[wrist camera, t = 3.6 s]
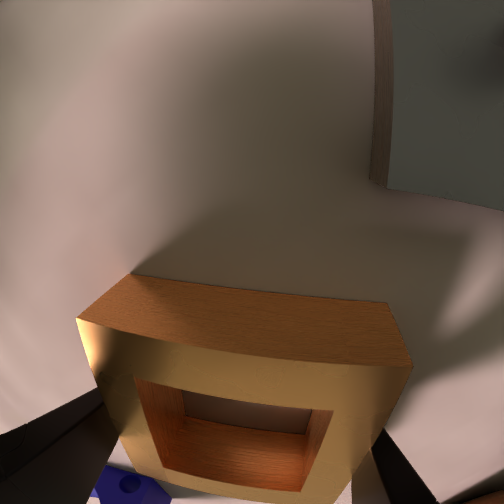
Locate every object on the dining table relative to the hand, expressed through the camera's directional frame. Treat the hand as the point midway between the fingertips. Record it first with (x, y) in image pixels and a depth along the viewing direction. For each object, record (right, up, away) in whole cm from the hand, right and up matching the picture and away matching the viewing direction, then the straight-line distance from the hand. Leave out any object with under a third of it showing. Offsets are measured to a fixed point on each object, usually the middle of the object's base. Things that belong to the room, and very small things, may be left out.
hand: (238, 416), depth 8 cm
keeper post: (+8, +10, -4) cm, 13 cm away
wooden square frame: (0, 0, +1) cm, 1 cm away
